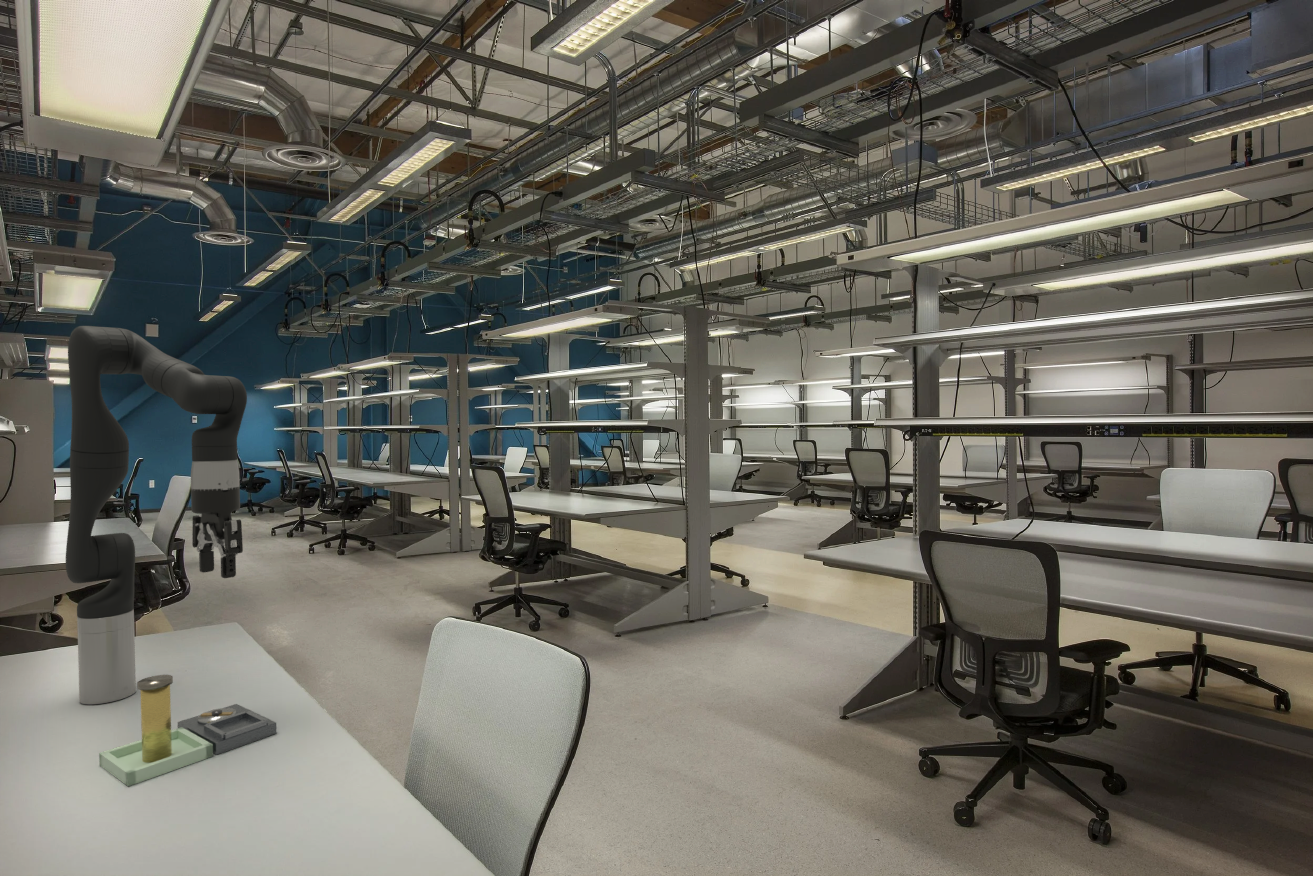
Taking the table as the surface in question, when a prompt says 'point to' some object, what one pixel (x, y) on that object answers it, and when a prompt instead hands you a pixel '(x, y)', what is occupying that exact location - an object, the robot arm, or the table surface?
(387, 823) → the table surface
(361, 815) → the table surface
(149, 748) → the pin
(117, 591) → the robot arm
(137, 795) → the table surface
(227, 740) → the crank deck
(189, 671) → the table surface
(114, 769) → the tray
